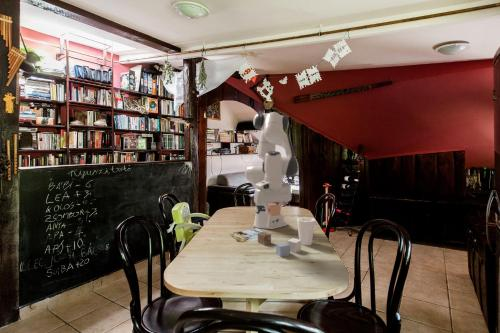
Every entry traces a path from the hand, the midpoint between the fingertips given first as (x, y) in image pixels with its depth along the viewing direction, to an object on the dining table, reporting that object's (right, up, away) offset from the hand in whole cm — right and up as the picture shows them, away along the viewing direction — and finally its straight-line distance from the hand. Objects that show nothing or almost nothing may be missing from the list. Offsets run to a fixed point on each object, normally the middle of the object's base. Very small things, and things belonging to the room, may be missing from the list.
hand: (273, 211), depth 146 cm
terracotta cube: (0, -2, 0) cm, 2 cm away
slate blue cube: (+4, -20, -6) cm, 21 cm away
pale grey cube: (+10, -19, -1) cm, 22 cm away
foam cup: (+18, -19, +8) cm, 27 cm away
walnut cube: (-4, -19, +10) cm, 21 cm away
